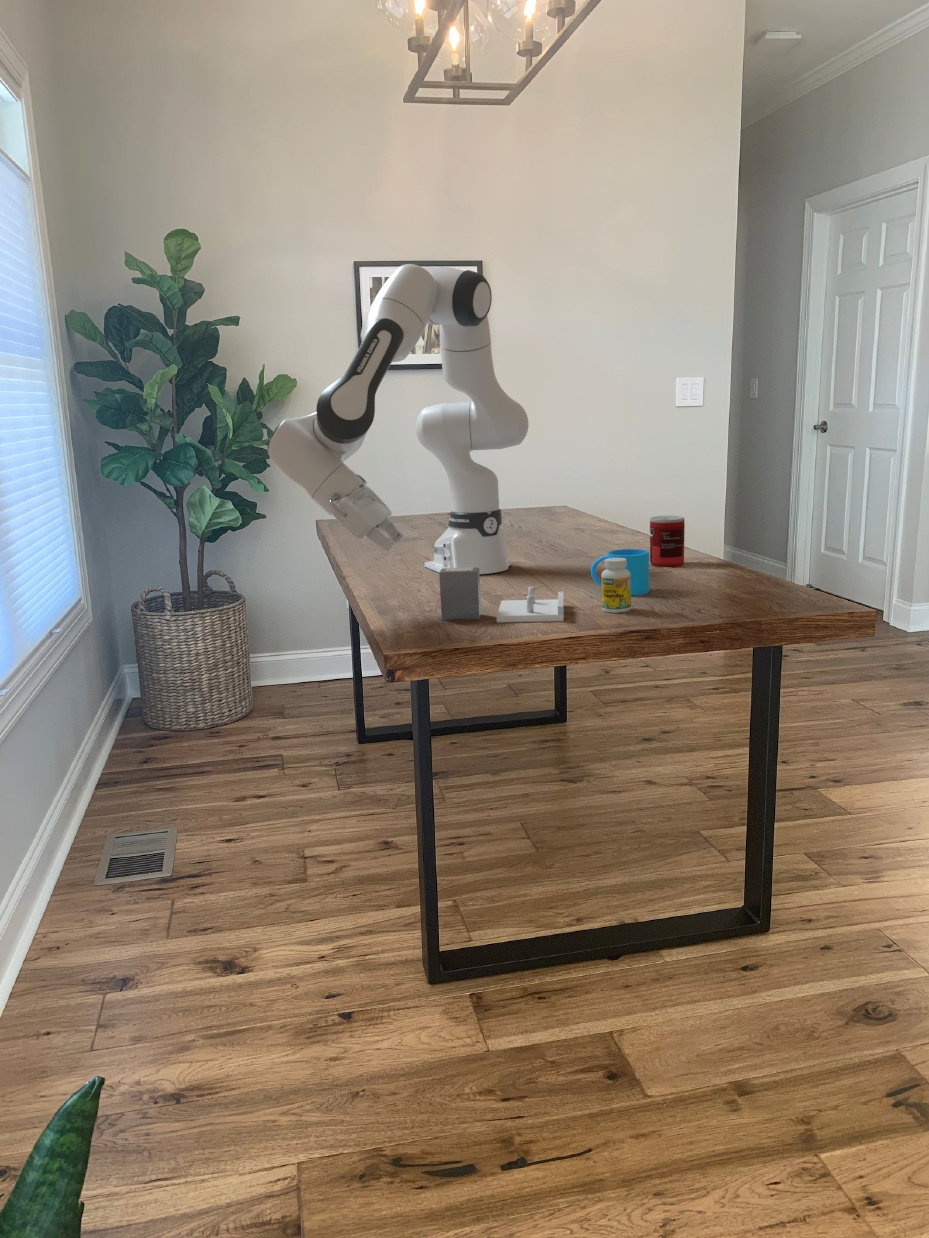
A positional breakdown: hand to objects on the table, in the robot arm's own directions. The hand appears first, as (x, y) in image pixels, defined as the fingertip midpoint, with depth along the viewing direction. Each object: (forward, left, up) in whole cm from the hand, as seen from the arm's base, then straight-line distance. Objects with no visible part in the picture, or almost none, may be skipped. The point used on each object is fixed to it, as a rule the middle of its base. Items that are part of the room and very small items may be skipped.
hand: (396, 543), depth 170 cm
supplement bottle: (+23, +33, -14) cm, 43 cm away
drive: (+7, +9, -14) cm, 18 cm away
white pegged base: (+14, +20, -14) cm, 28 cm away
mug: (+11, +45, -14) cm, 48 cm away
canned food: (-3, +73, -14) cm, 74 cm away
